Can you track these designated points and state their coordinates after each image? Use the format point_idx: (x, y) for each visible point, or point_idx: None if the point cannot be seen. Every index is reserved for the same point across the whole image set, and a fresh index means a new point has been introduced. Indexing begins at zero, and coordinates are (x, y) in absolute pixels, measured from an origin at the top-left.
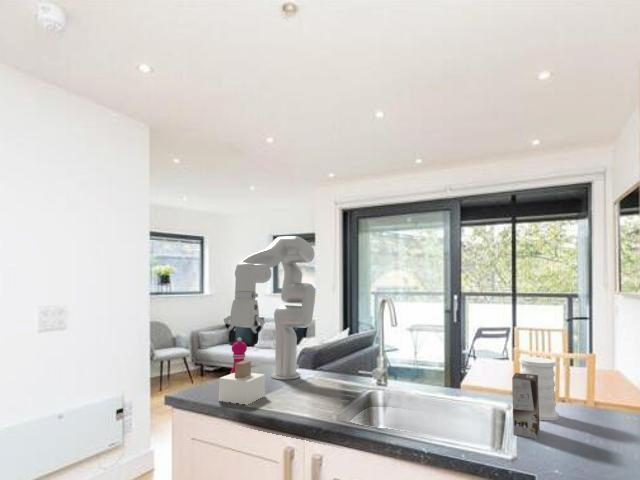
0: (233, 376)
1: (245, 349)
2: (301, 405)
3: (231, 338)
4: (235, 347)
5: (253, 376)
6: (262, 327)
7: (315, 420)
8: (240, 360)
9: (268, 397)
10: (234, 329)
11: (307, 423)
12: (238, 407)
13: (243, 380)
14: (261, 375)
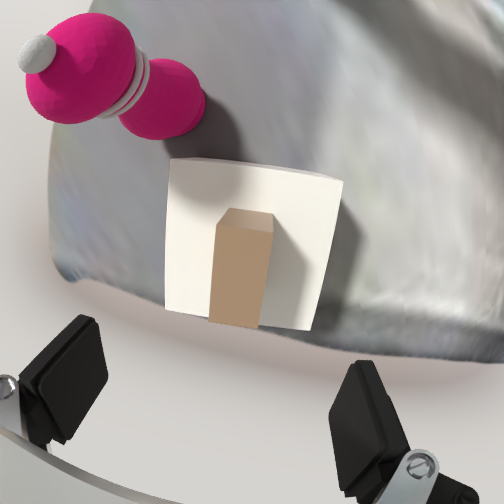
0: (204, 268)
1: (131, 62)
2: (450, 243)
3: (92, 392)
4: (63, 120)
5: (300, 241)
6: (469, 501)
7: (469, 332)
8: (138, 100)
9: None
10: (22, 403)
11: (454, 351)
12: None
13: (283, 321)
14: (332, 210)
